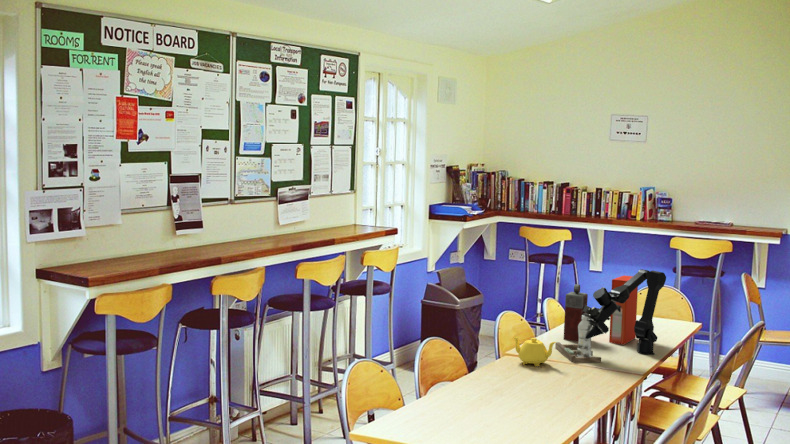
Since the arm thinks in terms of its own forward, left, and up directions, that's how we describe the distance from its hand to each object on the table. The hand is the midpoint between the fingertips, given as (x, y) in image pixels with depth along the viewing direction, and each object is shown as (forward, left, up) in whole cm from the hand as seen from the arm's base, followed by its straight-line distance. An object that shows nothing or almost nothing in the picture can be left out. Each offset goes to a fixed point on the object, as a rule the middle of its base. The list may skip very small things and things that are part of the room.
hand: (581, 335), depth 356 cm
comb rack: (-1, -6, -11) cm, 12 cm away
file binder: (-33, -35, -11) cm, 49 cm away
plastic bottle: (-2, 0, -11) cm, 11 cm away
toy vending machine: (-10, -37, -11) cm, 40 cm away
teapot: (+24, +8, -11) cm, 28 cm away
